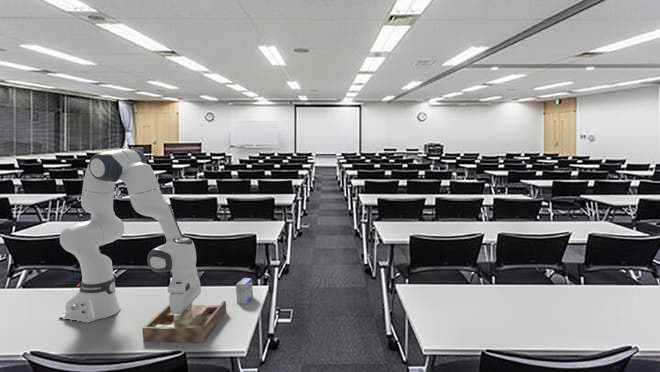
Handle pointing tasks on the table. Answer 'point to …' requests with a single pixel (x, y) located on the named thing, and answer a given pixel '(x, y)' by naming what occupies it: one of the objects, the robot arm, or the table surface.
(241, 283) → the medicine box
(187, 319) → the block
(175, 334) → the box
